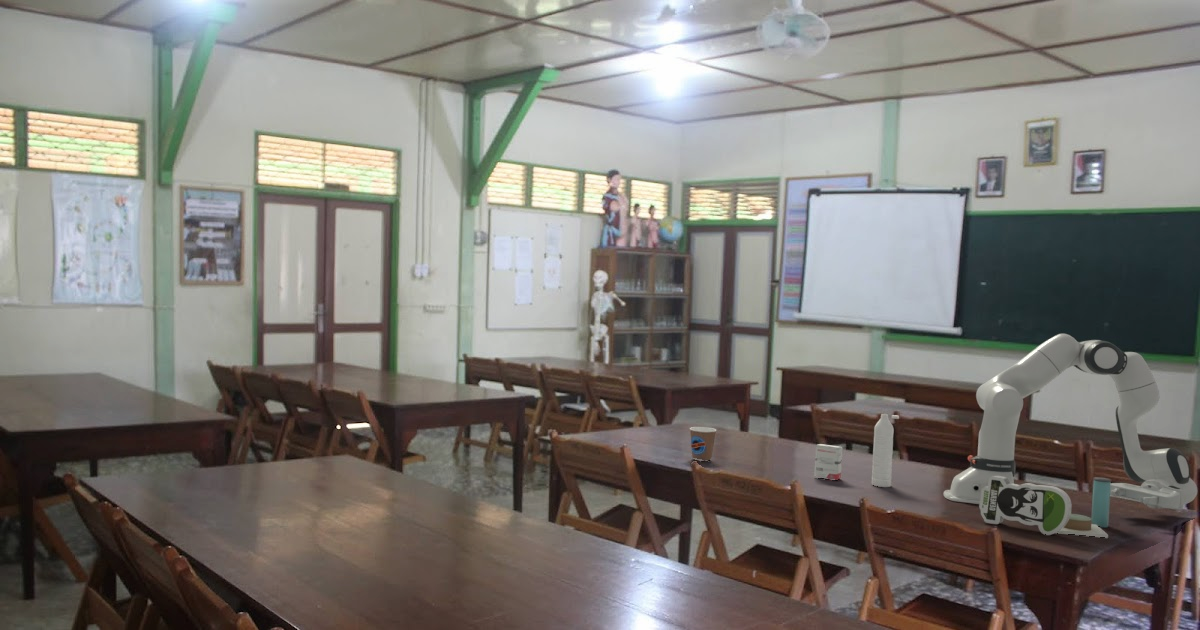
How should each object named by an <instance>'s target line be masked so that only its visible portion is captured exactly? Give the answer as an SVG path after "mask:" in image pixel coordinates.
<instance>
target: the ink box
mask: <svg viewBox="0 0 1200 630" xmlns="http://www.w3.org/2000/svg"><path fill="white" fill-rule="evenodd" d="M814 454H815V455H814V456H815V457H814V471H813V477H814V476H816V477H822V478H828V479H835V480H838V479H840V478H841V479H842V465H843V446H838V445H830V444H823V443H819V444H818V443H817V444H816V445H815V453H814ZM841 479H840V480H841ZM838 481H839V480H838Z"/></svg>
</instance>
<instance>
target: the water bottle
mask: <svg viewBox="0 0 1200 630" xmlns="http://www.w3.org/2000/svg"><path fill="white" fill-rule="evenodd" d="M880 415H881V416H880V418H879V420H878V421H877V422H876V424H875V425H874V429H873V430H874V431H873V448H872V449H873V450H872V466H871V467H872V468H871V469H872V472H871V485H872V486H873V485H874V487H877V486H878V488H881V487H882V488H890V487H891V486H892V471H893V470H892V469H893V467H892V466H893V451H894V450H893V447H894V431H895V430H894V425H893V424H892V422H891V421H890V419H889V414H887V413H881V414H880ZM891 419H895V420H899V419H900V415H896V414H895V415H894V414H892V415H891Z"/></svg>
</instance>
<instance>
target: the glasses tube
mask: <svg viewBox="0 0 1200 630" xmlns="http://www.w3.org/2000/svg"><path fill="white" fill-rule="evenodd" d="M1092 480H1093V487H1092V504H1091V517H1090V518H1092V524H1096V525H1097V526H1100V528H1108V527H1109V517H1110V499H1111V495H1110V486H1111V482H1112V479H1110V478H1105V477H1102V476H1101V477H1099V476H1095V477H1093V479H1092Z"/></svg>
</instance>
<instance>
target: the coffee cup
mask: <svg viewBox="0 0 1200 630" xmlns="http://www.w3.org/2000/svg"><path fill="white" fill-rule="evenodd" d="M689 430H690V448H691V457H692V459H693V458H697V459H702V460H710V459H711V460H712V457H713V450H714V443H715V439H716V432H717V429H716V428H713V427H707V426H693V427H692V426H691V427H689Z"/></svg>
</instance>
